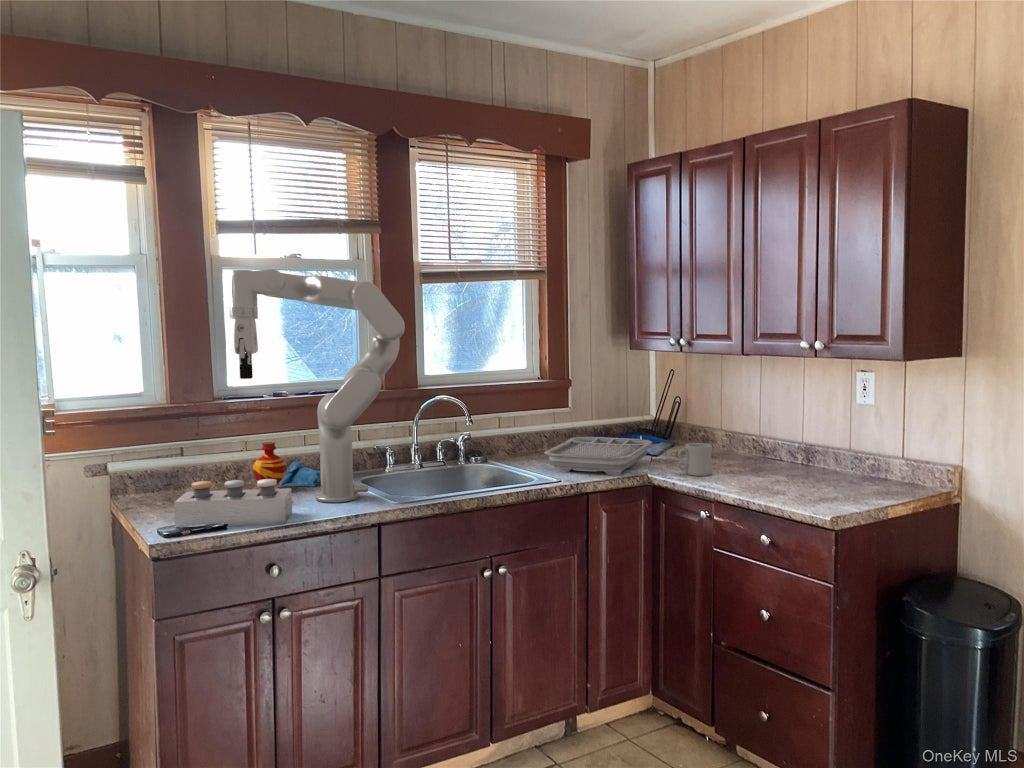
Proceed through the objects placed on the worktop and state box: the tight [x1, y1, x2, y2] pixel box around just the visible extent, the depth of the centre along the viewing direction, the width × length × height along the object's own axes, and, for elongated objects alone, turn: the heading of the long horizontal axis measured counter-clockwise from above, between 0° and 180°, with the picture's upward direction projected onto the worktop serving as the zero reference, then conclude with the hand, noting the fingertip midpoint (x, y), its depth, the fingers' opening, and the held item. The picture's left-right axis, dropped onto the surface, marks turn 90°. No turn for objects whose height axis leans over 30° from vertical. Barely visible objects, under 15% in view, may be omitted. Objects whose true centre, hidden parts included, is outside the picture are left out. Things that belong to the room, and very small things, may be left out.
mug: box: [677, 442, 713, 477], centre depth 276 cm, size 12×9×10 cm
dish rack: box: [544, 436, 653, 477], centre depth 291 cm, size 32×37×8 cm
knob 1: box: [191, 480, 213, 498], centre depth 219 cm, size 5×5×8 cm
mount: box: [174, 487, 293, 528], centre depth 220 cm, size 28×12×7 cm, turn 97°
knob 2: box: [256, 479, 277, 496], centre depth 221 cm, size 5×5×8 cm
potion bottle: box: [252, 441, 287, 487], centre depth 257 cm, size 10×10×15 cm
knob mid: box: [224, 479, 245, 497], centre depth 220 cm, size 5×5×8 cm
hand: (246, 378), depth 233 cm, fingers closed
